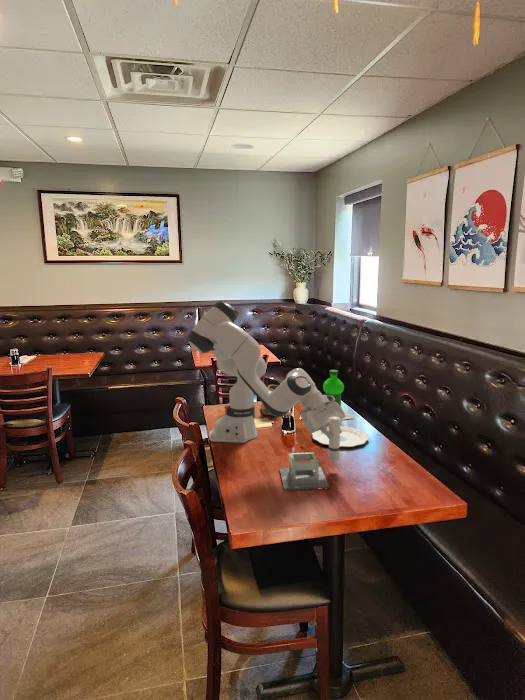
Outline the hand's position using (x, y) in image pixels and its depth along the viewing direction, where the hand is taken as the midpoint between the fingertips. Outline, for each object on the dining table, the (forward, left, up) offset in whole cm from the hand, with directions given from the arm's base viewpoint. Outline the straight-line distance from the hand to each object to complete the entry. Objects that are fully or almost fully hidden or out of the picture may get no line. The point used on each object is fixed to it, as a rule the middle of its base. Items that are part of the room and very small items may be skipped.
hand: (335, 435), depth 167 cm
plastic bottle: (+12, +59, -14) cm, 62 cm away
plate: (+9, +31, -15) cm, 36 cm away
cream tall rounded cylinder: (0, 0, -9) cm, 9 cm away
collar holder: (-13, -6, -14) cm, 20 cm away
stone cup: (-18, +71, -14) cm, 75 cm away
